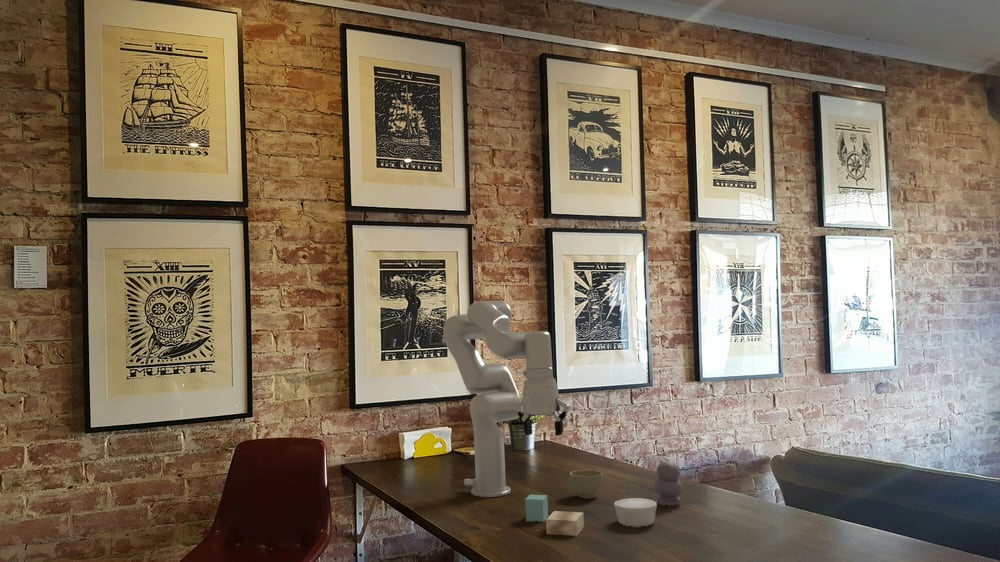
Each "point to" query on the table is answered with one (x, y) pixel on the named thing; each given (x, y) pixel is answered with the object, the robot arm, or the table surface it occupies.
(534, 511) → the block
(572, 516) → the base
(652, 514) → the ramekin
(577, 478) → the flower pot
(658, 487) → the cat figurine
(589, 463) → the table surface
